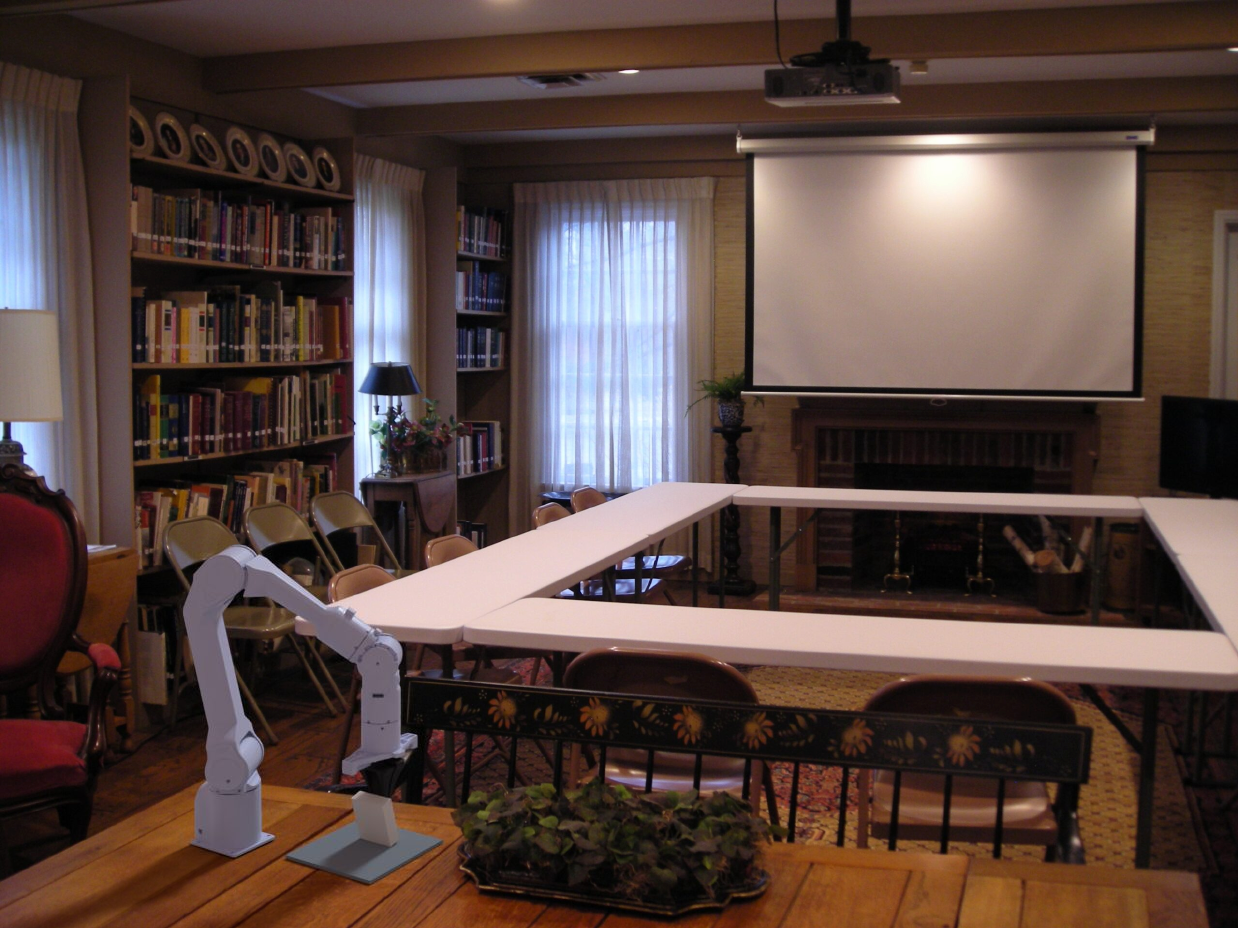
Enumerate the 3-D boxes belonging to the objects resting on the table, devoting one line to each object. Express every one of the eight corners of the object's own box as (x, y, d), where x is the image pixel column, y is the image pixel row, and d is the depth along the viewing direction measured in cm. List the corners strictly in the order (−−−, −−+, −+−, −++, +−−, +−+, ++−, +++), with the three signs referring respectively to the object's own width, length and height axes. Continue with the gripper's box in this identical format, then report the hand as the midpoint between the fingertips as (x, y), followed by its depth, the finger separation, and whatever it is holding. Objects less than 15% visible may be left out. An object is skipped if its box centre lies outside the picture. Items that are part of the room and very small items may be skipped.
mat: (285, 858, 168) (285, 854, 167) (361, 820, 181) (361, 817, 181) (370, 884, 160) (370, 880, 160) (442, 842, 174) (442, 839, 174)
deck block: (359, 837, 174) (350, 798, 172) (368, 830, 175) (359, 790, 173) (390, 846, 171) (382, 806, 169) (399, 838, 172) (391, 798, 170)
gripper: (368, 736, 164) (368, 829, 165) (433, 710, 176) (433, 796, 177) (330, 727, 167) (331, 819, 168) (397, 702, 180) (397, 787, 181)
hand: (381, 807), depth 173 cm, fingers closed
